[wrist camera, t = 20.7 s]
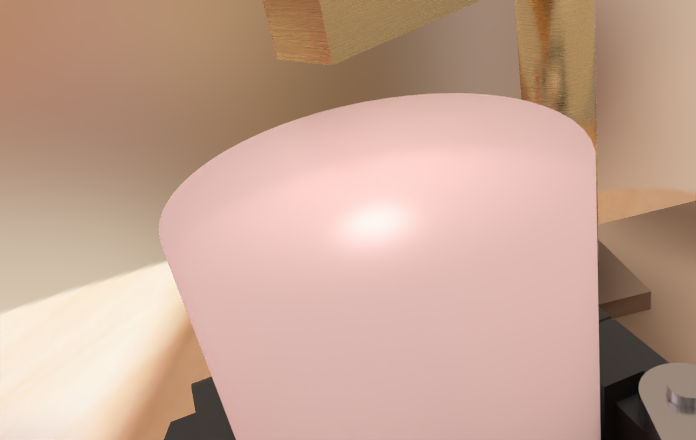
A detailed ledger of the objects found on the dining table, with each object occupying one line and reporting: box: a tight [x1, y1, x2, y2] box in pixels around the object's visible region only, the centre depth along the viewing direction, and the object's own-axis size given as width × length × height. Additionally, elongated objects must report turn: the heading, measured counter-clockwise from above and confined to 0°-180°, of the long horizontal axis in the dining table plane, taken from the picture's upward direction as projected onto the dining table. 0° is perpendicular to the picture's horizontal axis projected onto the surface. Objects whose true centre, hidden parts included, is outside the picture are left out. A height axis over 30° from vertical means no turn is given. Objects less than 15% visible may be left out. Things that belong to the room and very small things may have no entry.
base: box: [598, 201, 696, 365], centre depth 21 cm, size 20×20×3 cm
